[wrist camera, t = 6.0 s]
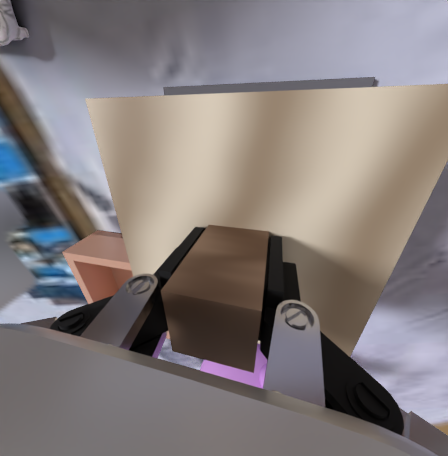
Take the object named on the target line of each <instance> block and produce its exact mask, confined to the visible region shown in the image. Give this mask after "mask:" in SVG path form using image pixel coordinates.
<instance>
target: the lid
mask: <svg viewBox="0 0 448 456" xmlns="http://www.w3.org/2000/svg"><path fill="white" fill-rule="evenodd" d="M85 100H86V104H87V107H88V111H89V115H90V118H91V122H92V126H93V129H94V133H95V137H96V140H97V144H98V148H99V152H100V155H101V159H102V163H103V166H104V170H105V174H106V177H107V181H108V185H109V188H110V192H111V196H112V200H113V203H114V207H115V211H116V214H117V218H118V222H119V225H120V229H121V233H122V236H123V240H124V244H125V248H126V251H127V255H128V259H129V262H130V266H131V270H132V273H133V276H136V275H139V274H152V275H153V274H154V273H155V272H156V271H157V269H158V268H159V267H160V266H161V265H162V264H163V263H164V261H165V260H166V259H167V258H168V257H169V256H170V254H171V253H172V252H173V251H174V250H175V249H176V248H177V247H178V246H179V245H180V244H181V243H182V242H183V241H184V239H185V238H186V237H187V236H188V235H189V234H190V232H191V231H192V230H193V229H194V228H195V227H202V228H206V229H205V231H204V232H203V233H202V235H201V236H200V238H199V239H198V240H197V242H196V243H195V244H194V246H193V247H192V249H191V250H190V251H189V253H188V254H187V255H186V257H185V258H184V260H183V261H182V262H181V264H180V265H179V266H178V268H177V269H176V270H175V272H174V273H173V275H172V276H171V277H170V279H169V280H168V281H167V283H166V284H165V286H164V287H163V288H162V290H161V295H162V300H163V305H164V310H165V315H166V320H167V325H168V330H169V335H170V340H171V345H172V350H173V351H174V352H178V353H182V354H185V355H189V356H193V357H196V358H200V359H204V360H208V361H211V362H215V363H219V364H222V365H226V366H230V367H234V368H237V369H241V370H245V371H248V372H252V373H254V368H255V360H256V352H257V344H260V341H258V336H259V328H260V320H261V313H262V302H263V291H264V280H265V269H266V258H267V247H268V238H271V236H280V237H282V252H283V262H289V263H295V264H296V268H297V276H298V284H299V291H300V299H301V302H303V303H305V304H307V305H308V306H310V307H311V308H312V309H313V310H314V311H315V313H316V314H317V316H318V319H319V324H320V331H321V332H322V333H323V334H324V335H326V336H327V337H328V338H329V339H330V340H331V341H332V342H333V343H335V344H336V345H337V346H338V347H339V348H340V349H341V350H342V351H344V352H345V353H346V354H347V355H348V356H349V357H350V356H351V354H352V352H353V350H354V348H355V346H356V344H357V342H358V340H359V338H360V336H361V334H362V332H363V330H364V328H365V326H366V324H367V321H368V319H369V317H370V315H371V313H372V311H373V309H374V307H375V305H376V303H377V301H378V299H379V297H380V295H381V293H382V291H383V289H384V287H385V285H386V283H387V281H388V279H389V277H390V275H391V273H392V271H393V269H394V267H395V265H396V263H397V261H398V259H399V257H400V255H401V253H402V251H403V249H404V247H405V245H406V243H407V241H408V239H409V237H410V235H411V233H412V231H413V229H414V227H415V225H416V223H417V221H418V219H419V217H420V215H421V213H422V211H423V209H424V207H425V205H426V203H427V201H428V199H429V197H430V195H431V193H432V191H433V189H434V187H435V185H436V183H437V181H438V179H439V177H440V175H441V173H442V171H443V169H444V167H445V165H446V163H447V161H448V84H435V85H411V86H386V87H362V88H337V89H313V90H289V91H264V92H240V93H215V94H191V95H166V96H142V97H117V98H93V99H85Z"/></svg>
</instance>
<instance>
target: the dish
mask: <svg viewBox="0 0 448 456" xmlns="http://www.w3.org/2000/svg"><path fill="white" fill-rule="evenodd" d="M62 253H63V255H64V257H65V258H66V260H67V262H68V264H69V266H70V268H71V270H72V272H73V274H74V276H75V278H76V280H77V282H78V284H79V286H80V288H81V290H82V292H83V294H84V296H85V298H86V300H87V302H88V304H90V303H93V302H96V301H99V300H102V299H104V298H107V297H110V296H113V295H115V294H116V292H117V291H118V290H119V289H120V288H121V286H122V285H123V284H124V283H125V282H126V281H127V280H128V279H130V278H131V277H133V273H132V270H131V266H130V262H129V259H128V255H127V251H126V248H125V244H124V240H123V236H122V233H114V232H107V231H99V230H97V231H96V232H94V233H92V234H91V235H89V236H88V237H86V238H84V239H83V240H81V241H80V242H78V243H76V244H75V245H73V246H71V247H70V248H68V249H67V250H65V251H63V252H62ZM166 338H168V339H170V335H169V331H168V332H167V336H166Z"/></svg>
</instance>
